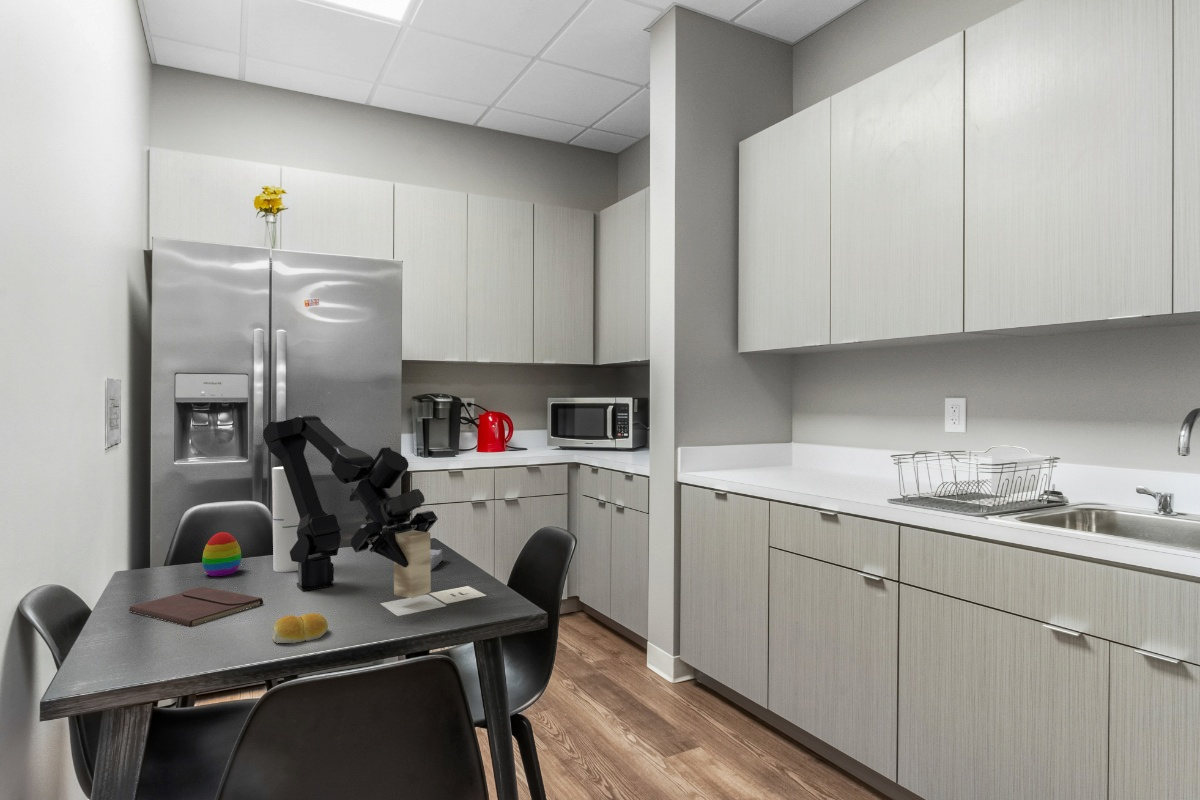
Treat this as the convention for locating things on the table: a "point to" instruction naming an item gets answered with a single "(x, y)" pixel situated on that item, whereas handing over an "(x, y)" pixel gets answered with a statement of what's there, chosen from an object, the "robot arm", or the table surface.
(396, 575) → the maple block
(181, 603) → the notebook
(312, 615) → the bread roll
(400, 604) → the grey mat
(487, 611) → the table surface
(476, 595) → the tile
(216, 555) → the decorative egg
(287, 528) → the cylindrical container
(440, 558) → the stone block
